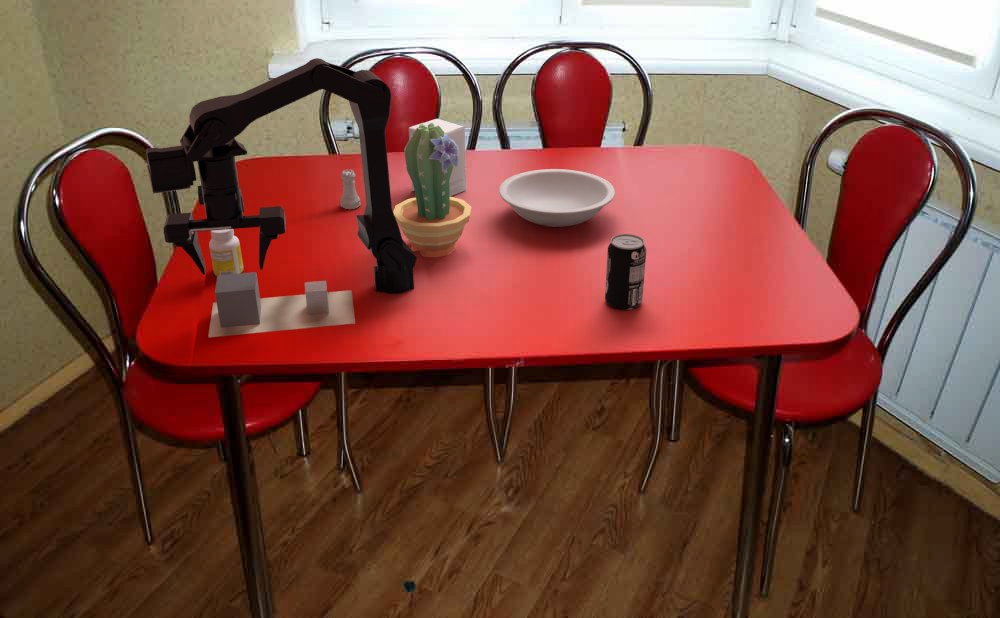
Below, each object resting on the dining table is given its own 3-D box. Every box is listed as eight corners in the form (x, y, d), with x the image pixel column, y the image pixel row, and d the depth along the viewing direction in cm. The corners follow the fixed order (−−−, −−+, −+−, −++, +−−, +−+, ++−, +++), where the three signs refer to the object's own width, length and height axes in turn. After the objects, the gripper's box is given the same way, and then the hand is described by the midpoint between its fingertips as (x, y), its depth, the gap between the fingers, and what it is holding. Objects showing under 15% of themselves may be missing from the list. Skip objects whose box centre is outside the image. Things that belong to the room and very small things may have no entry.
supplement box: (467, 190, 216) (466, 126, 208) (438, 202, 210) (436, 136, 203) (440, 180, 221) (437, 117, 214) (411, 191, 216) (407, 126, 208)
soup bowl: (637, 224, 199) (639, 195, 196) (544, 253, 187) (544, 222, 184) (566, 188, 217) (567, 161, 213) (477, 213, 205) (476, 184, 202)
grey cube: (328, 303, 168) (326, 280, 166) (329, 313, 165) (326, 290, 163) (307, 305, 167) (304, 282, 165) (307, 315, 164) (305, 292, 162)
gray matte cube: (261, 306, 167) (256, 272, 164) (259, 324, 162) (254, 289, 158) (223, 309, 166) (217, 275, 163) (220, 327, 161) (214, 292, 157)
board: (351, 295, 173) (351, 290, 172) (355, 328, 162) (355, 323, 162) (214, 307, 169) (213, 302, 168) (209, 342, 158) (208, 337, 158)
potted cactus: (399, 268, 182) (391, 141, 170) (390, 234, 195) (382, 115, 183) (479, 260, 185) (477, 135, 173) (465, 228, 198) (462, 109, 186)
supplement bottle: (232, 267, 183) (225, 219, 178) (250, 275, 180) (243, 227, 175) (208, 277, 179) (200, 229, 174) (226, 285, 176) (218, 237, 171)
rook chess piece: (350, 200, 211) (347, 166, 207) (365, 205, 209) (362, 170, 205) (336, 207, 208) (332, 172, 204) (351, 212, 205) (348, 176, 201)
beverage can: (603, 293, 173) (607, 232, 167) (640, 293, 173) (645, 232, 167) (606, 311, 167) (609, 248, 161) (643, 311, 167) (648, 249, 161)
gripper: (280, 161, 160) (290, 246, 168) (164, 169, 157) (179, 255, 165) (279, 186, 151) (290, 274, 158) (155, 194, 148) (172, 284, 155)
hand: (233, 271), depth 160 cm, fingers open, 9 cm apart
